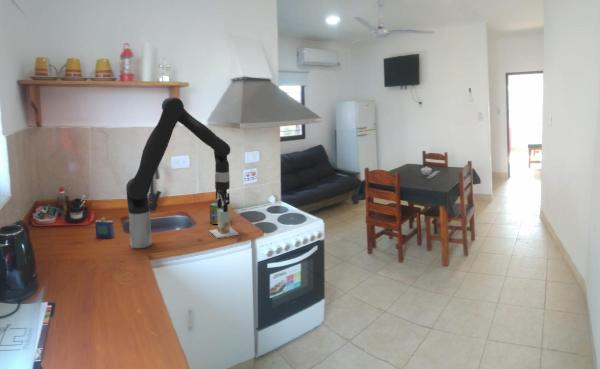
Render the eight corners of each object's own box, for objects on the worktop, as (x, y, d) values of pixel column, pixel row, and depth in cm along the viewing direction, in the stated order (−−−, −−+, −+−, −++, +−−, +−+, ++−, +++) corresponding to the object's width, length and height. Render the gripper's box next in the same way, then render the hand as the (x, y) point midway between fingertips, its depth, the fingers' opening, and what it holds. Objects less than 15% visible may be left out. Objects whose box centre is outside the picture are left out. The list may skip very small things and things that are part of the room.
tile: (217, 239, 190) (217, 237, 189) (209, 232, 199) (209, 230, 199) (238, 235, 196) (238, 233, 196) (230, 229, 206) (230, 227, 206)
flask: (115, 237, 189) (113, 217, 187) (112, 239, 186) (110, 219, 184) (98, 236, 189) (96, 216, 187) (94, 238, 187) (92, 218, 184)
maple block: (221, 233, 194) (220, 223, 193) (217, 231, 198) (217, 220, 197) (229, 232, 197) (229, 221, 196) (226, 229, 201) (226, 219, 200)
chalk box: (225, 225, 212) (224, 200, 209) (209, 224, 212) (209, 200, 209) (228, 220, 221) (228, 196, 218) (213, 220, 221) (213, 196, 218)
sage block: (220, 223, 193) (220, 212, 192) (217, 220, 197) (217, 209, 196) (229, 221, 196) (229, 211, 194) (226, 219, 200) (226, 208, 198)
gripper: (210, 178, 196) (211, 207, 200) (220, 183, 185) (220, 213, 188) (224, 177, 200) (224, 205, 204) (234, 182, 189) (234, 212, 192)
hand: (222, 209), depth 196 cm, fingers open, 8 cm apart
